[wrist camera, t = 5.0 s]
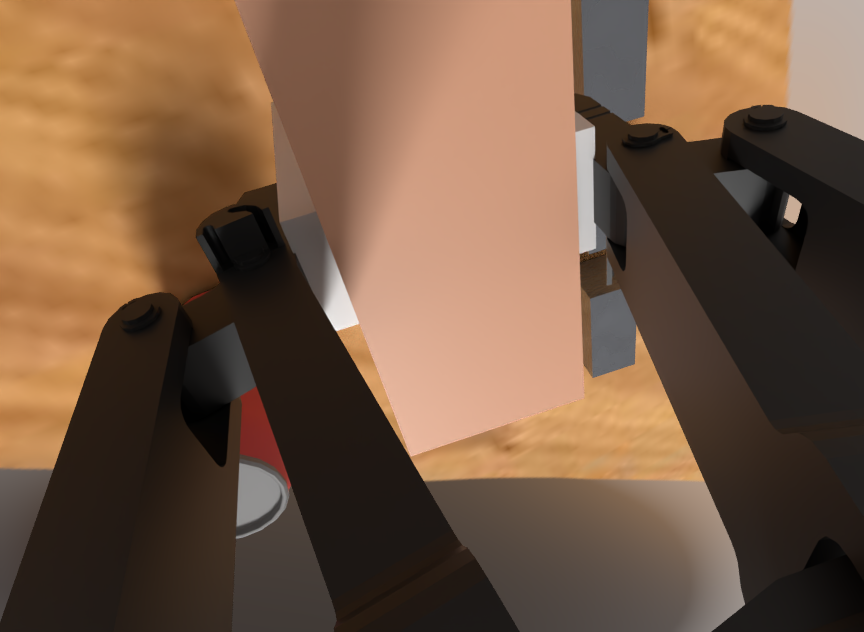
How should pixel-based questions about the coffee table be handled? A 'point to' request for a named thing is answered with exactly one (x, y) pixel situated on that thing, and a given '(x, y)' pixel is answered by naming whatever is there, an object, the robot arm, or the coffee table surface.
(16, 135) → the coffee table surface
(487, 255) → the salmon pink bridge block
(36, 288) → the coffee table surface
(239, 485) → the beer can
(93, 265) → the coffee table surface
